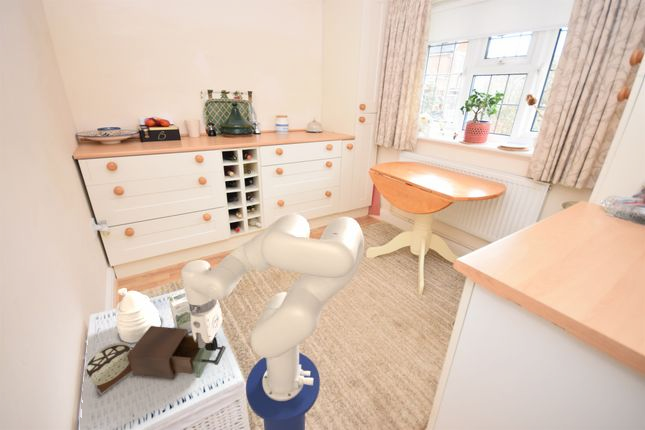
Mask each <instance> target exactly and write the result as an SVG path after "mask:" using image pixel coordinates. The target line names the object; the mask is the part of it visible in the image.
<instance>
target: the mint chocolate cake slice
mask: <svg viewBox="0 0 645 430" xmlns="http://www.w3.org/2000/svg"><path fill="white" fill-rule="evenodd" d="M133 347H134V346H132V345H131V344H130V343H128V342H114V343H111V344H108V345H106V346H104V347H102V348H100V349H98V350H97V351H96V352H95V353H93V354H92V355H91V356H90V357H89V358H88V360H87V362H86V364H85V366H84V377H85V380H86V381H88V380H89V379H90V381H91V383H92V384H93V386H94V387H95V388H96V390H97V392H99V394H100V395H103V394H104V393H105V392H107V391H108V390H110V389H111V388H112V387H114V386H115V385H116V384H118V383H119V382H120V381H122V380H123V379H124V378H126V377H127V376H129V375H130V374H132V373H133V372H132V369H131V366H130V363H129V360H128V357H127V355H128V353H129V352H130V351H131V350H132V348H133ZM88 378H89V379H88Z"/></svg>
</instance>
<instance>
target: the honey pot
mask: <svg viewBox="0 0 645 430" xmlns="http://www.w3.org/2000/svg"><path fill="white" fill-rule="evenodd" d="M117 293H118V295H119V296H122V298H121V300H120V301H119V302H118V303H117V305H116V306H115V312H116V313H117V318H116V319H117V320H116V328H117V332H118V335H119V338H120V339H121V340H122V341H123V342H124V343H128V344H130V343H137V342H138V341H139V340H140V339H141V337H142V336H143V335H144V334H145V333H146V331H147V330H148V329H149V328H150V327H151V326H158V327H161V323H162V322H161V317H160V314H159V311H158V310H159V309H157V307H155V305H154V304H153V302H151V301H150V297H148V295H145V294H142V293H141V292H139V291H136V290H129V291H128V289H127V288H126V287H121V288H120V289H118V290H117Z"/></svg>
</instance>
